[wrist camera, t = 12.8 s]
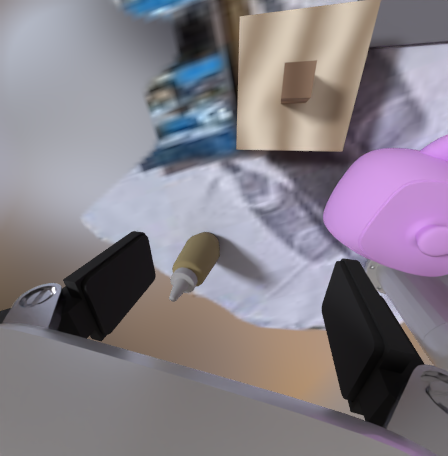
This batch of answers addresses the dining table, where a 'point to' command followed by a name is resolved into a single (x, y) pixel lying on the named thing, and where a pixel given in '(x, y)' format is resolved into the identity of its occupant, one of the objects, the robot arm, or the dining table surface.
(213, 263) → the squeeze bottle
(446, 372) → the robot arm
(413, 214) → the teapot
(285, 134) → the lid
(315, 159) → the dining table surface
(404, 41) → the mat
